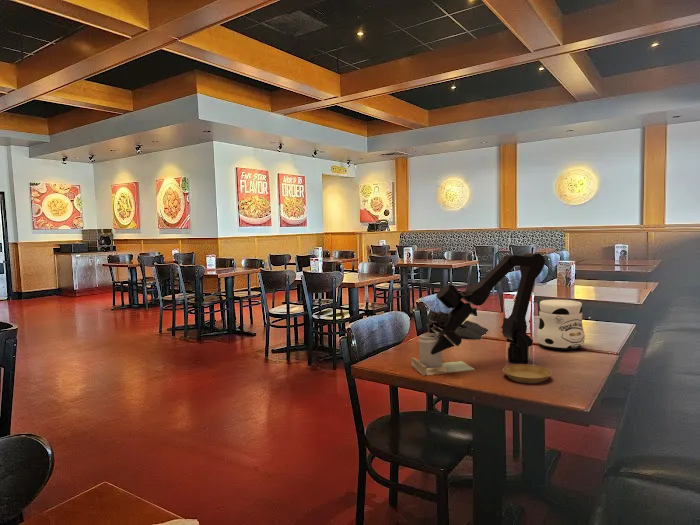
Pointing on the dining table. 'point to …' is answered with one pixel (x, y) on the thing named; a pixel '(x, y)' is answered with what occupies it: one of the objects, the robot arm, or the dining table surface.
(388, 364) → the dining table surface
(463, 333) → the dark slate chunk
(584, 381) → the dining table surface
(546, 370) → the plant saucer
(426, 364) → the can
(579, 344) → the milk container
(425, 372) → the shelf lane
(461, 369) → the mat
